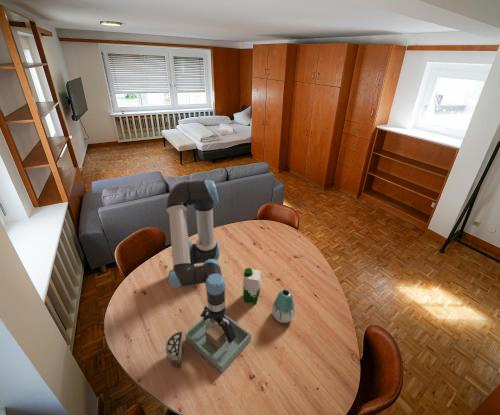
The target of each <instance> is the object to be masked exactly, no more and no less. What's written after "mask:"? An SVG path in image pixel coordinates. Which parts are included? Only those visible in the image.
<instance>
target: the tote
mask: <svg viewBox="0 0 500 415" xmlns="http://www.w3.org/2000/svg"><path fill="white" fill-rule="evenodd" d="M224 316H225V319H226V320H228V319H230V322H231V326H232V328H233V330H234V333H235V335H236V338H235V339H234V340H233V341H232V342H231V345H230V346H229V347H228V348H227V347H226V342H225V343H224V344H223V345H222V346H221V347H220V349H219V350H218V351H216V350H215V349H214V348H212V347H211V346H210V345H209V344H208V343H207V342H206V335H205V331H206V330H205V323H204V319H203V317H201V319H200V320H199V321H197V323H196V324H194V325H193V326H192V327H191V328H190V329H188V330H187V331H186V332H185V333H184V336H185V341H186V342H187V343H188V344H189V345H190V346H191V347H192V348H194V350H196V351H197V352H198V353H199V354H200V355H201V356H202V357H203V358H205V360H206V361H207V362H208V363H210V365H212V366H213V368H215V369H216V370H217V371H218V372H219V373H220V374H223V373H224V372H225V371H226V370H227V368H228V367H229V366H230V365H231V364H232V362H234V361H235V359H236V358H237V357H238V356H239V355H240V354H241V353H242V351H244V350H245V348H246V346H248V344H249V343H250V342H251V341H252V333H250V332H249V331H248V330H247V329H245V328H244V327H242V326H241V325H240V324H238V323H237V322H236V321H235V320H234V319H232V318H230V317H229V316H228V315H226V313H225V314H224ZM215 322H216V321H215V320H213V318H211V319H210V324H211V325H212V324H213V323H215Z"/></svg>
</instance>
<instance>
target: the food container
mask: <svg viewBox="0 0 500 415" xmlns="http://www.w3.org/2000/svg"><path fill="white" fill-rule="evenodd" d="M183 338H184V337H183V331H177V332H175V333H173V334H172V335H171V336H170V337H169V338H168V340H167V342H166V345H165V353H166V356H168V358H169V360H170V363H171V364H172V366H174V367H175V368H180V369H181V368H182V361H183V356H184V349H185V348H184V339H183Z"/></svg>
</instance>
